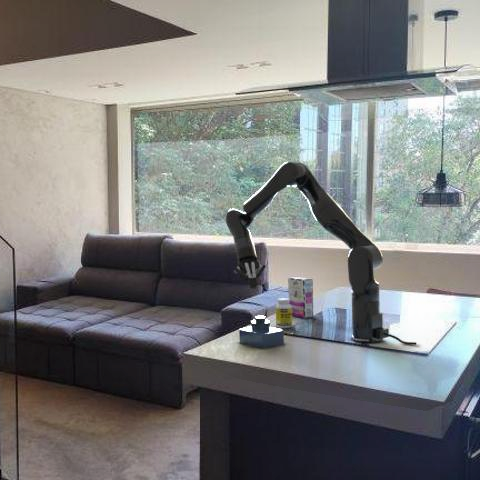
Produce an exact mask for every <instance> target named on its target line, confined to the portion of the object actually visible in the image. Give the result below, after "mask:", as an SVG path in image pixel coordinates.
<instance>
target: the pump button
mask: <svg viewBox="0 0 480 480" xmlns="http://www.w3.org/2000/svg"><path fill="white" fill-rule="evenodd" d="M254 320H255V322H256V323H264V322H265V320H266V316H264V315H257V316H255V317H254Z"/></svg>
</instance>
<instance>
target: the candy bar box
mask: <svg viewBox="0 0 480 480" xmlns="http://www.w3.org/2000/svg"><path fill="white" fill-rule="evenodd" d="M313 280H314V279H313V278H309V277H299V276H291V277H288V278H287V282H288V283H287V285H288V286H287V287H288V299H290V303H289V304H290V305H291V306H292V317H297V318H301V319H310V318H311V319H312V318H314V285H313V284H314V281H313Z"/></svg>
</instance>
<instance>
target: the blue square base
mask: <svg viewBox="0 0 480 480" xmlns="http://www.w3.org/2000/svg"><path fill="white" fill-rule="evenodd" d="M238 333H239V335H238V336H239V344H242V345H247V346H249V347H250V346H251V347H254V348H258V349H260V350H261V349H262V350H264V349H268V348H269V349H270V348H273V347H277V346H281V345H285V334H284V333H285V332H284V329H282V328H276V327H271V321H270V320H268V319H265V322H264V323H256V322H255V319H253V320H250V326H247V327H243V328H239V329H238Z"/></svg>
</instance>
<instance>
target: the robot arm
mask: <svg viewBox="0 0 480 480" xmlns="http://www.w3.org/2000/svg"><path fill="white" fill-rule="evenodd" d="M288 187H294V188H297V189H298V190H299V191H300V192H301V194H302V195H303V196H304V197H305V199H307V202H308V204H309V208H310V212H311V213H312V216H313V217H314V218H315V220H316V221H317V222H318V223H319V225H320V226H321V227H322V228H323V229H324V230H325V231H327V232H328V233H329V234H331V235H332V236H334V237H335V238H337V239H338V240H340V241H342V243H344V244H345V245H346V246H347V247H348V249H350V250H349V252H348V254H347V255H348V256H347V270H348V272H347V273H348V282H349V285H350V287H351V323H352V324H351V325H352V327H351V328H352V329H351V330H352V335H351V337H352V338H351V339H352V340H353V341H355V342H358V343H359V342H360V343H370V344H373V343H376V342H381V341H384V339H386V338H391V339H394V340H397V341H398V342H399V343H401V344H404V345H410V346H411V345H413V346H416V345H417V342H415V341H405V340H402V339H400V337H397V336H395V335H393V334H390V333H389V332H390V331H389V330H390V329H389V328H388V327H384V324H383V323H384V321H383V316H384V315H383V313H382V312H381V305H380V304H381V303H380V284H379V282H378V281H376V279H375V275H374V274H375V273H374V271H375V270H378V269H379V268H380V267H382V265H383V260H384V257H383V253H382V251H381V249H379V247H378V246H377V245H376V244H375V243H374V242H372V240H371V239H370V238H369V237H367V236H366V235H365V234H364V233H363V232H362V230H361V229H359V228H358V227H357V225H356V224H355V223H354V222H353V220H352V219H351V218H350V217H349V216H348V214H347V213H346V212H345V211H344V210H343V208H341V206H340V205H339V204H338V203H337V202H336V201H335V200H334V199H333V197H332V196H331V195H330V194H329V193H328V192H327V191H326V190H325V189H324V188H323V187H322V185H321V184H320V183H319V181H318V180H317V178H315V176H314V174H313V173H312V172H311V170H310V169H309V167H308V166H307V165H306V164H305V163H303V162H300V161H287V162H284V163H283V164H282V165H280V167H279V168H278V169H277V170H276V171H275V172H274V174H273V175H272V176H271V178H270V179H269V180H267V182H266V183H265V184H264V185H263V186H262V187H261V188H260V189H259V190H258V191H256V192H255V194H253V195H252V196H251V197H250V198H248V199H247V200H246V201H245V202H244V203H243V206H242V210H243V211H244V212H243V211H241V210H239V209H236V208H232V209H231V208H230V209H229V210H228V211H227V212H226V214H225V223H226V226H227V228H228V230H229V232H230V234H231V235H232V238H233V241H234V249H235V254H236V258H237V267H234V268H233V273H234V275H236V276H237V277H238V278H239V279H240V280H242V281H243V282H245V281H247V282H248V287H249V288H250V289H251V290H257V288H258V280H260V279H261V277H262V276H263V274H264V273H265V271H266V268H267V265H266V264H261V263H260V261H259V260H258V256H257V253H256V248H255V243H254V241H253V239H252V235H251V232H250V230H249V229H248V228H250V226H251V225H252V223H253V222H254V220H255V219H256V217H257V216H258V215H259V214H260V213H262V212H263V211H264V210H266V208H268V207H269V205H270V204H271V203H272V201H273V199H274V198H275V196H276V195H277V194H278V193H279V192H281V191H283V190H284V189H286V188H288ZM258 270H259V271H258ZM257 271H258V272H257ZM256 272H257V273H256Z"/></svg>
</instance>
